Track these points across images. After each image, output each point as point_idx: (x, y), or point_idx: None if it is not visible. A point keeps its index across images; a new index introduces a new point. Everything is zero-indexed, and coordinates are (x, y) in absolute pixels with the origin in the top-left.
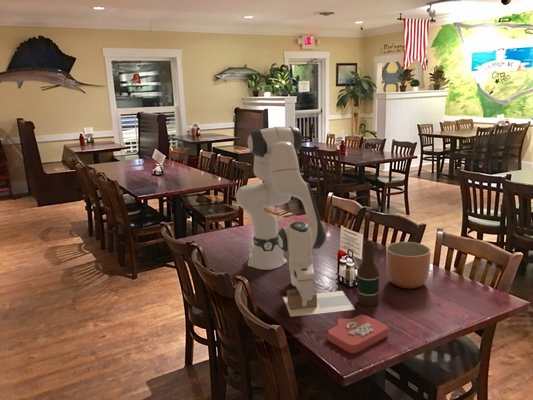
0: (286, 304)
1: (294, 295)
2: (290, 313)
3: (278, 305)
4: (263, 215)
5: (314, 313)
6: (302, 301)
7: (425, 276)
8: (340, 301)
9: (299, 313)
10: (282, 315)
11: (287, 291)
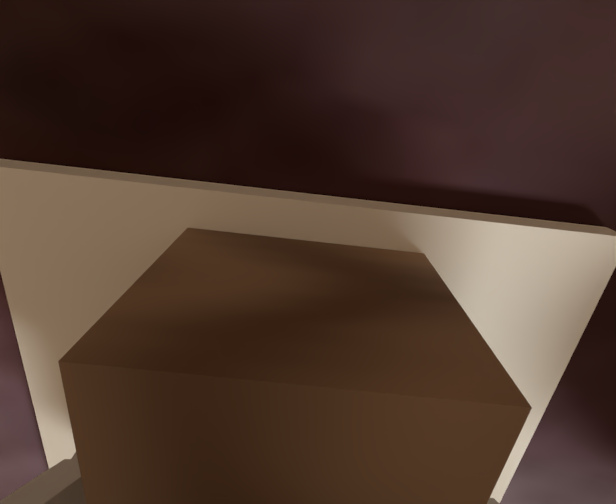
0: (367, 219)
1: (148, 470)
2: (73, 193)
3: (448, 102)
4: None
5: (52, 435)
6: (48, 474)
7: None
8: None
9: (64, 302)
10: (110, 69)
11: (480, 390)
